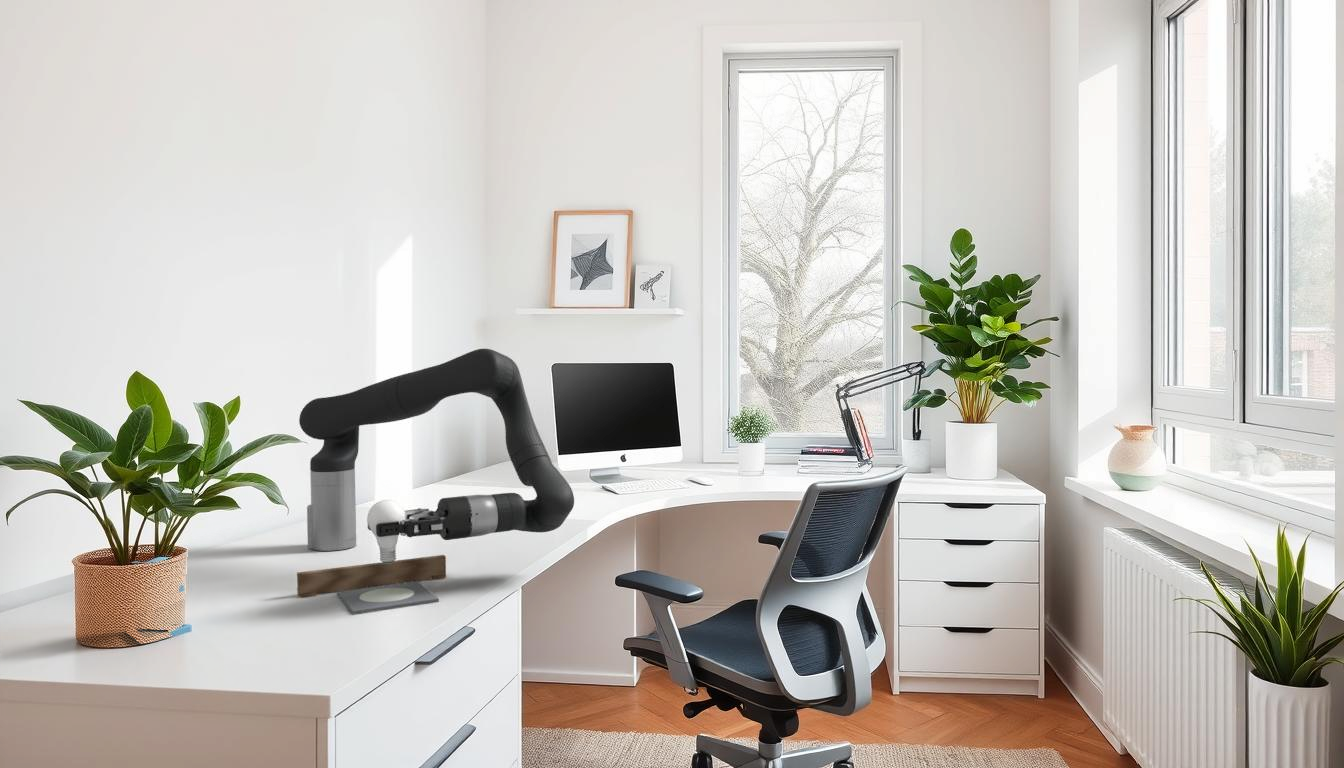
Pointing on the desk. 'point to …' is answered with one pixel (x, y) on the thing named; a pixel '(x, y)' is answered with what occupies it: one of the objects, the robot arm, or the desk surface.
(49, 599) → the desk surface
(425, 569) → the walnut fence
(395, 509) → the lightbulb
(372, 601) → the mat
